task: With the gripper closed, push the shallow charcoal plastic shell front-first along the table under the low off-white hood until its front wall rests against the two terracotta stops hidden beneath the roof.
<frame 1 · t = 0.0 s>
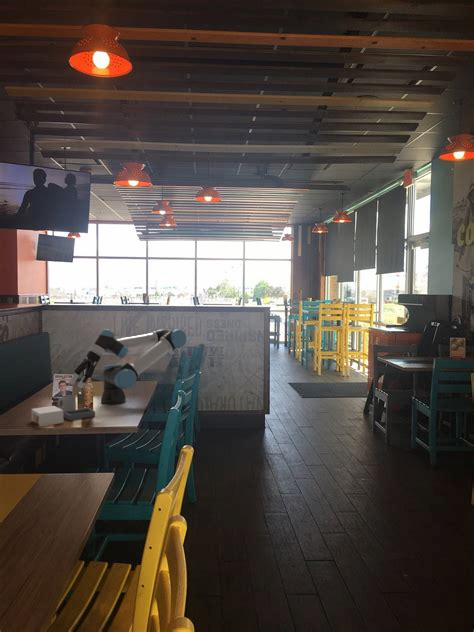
hand: (74, 385, 294), 15 cm above the table, tool tilted 35°, fingers open, 13 cm apart
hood: (47, 421, 274), on the table
cup: (66, 412, 297), on the table
shell: (79, 416, 284), on the table
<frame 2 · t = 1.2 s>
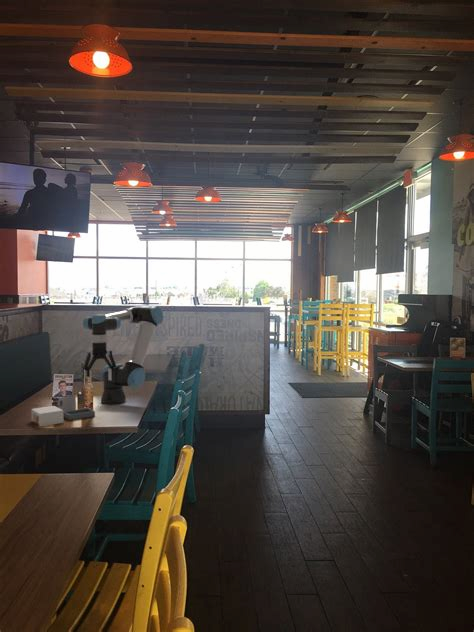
hand: (100, 381, 291), 18 cm above the table, tool pointing down, fingers open, 11 cm apart
nothing on the table moved.
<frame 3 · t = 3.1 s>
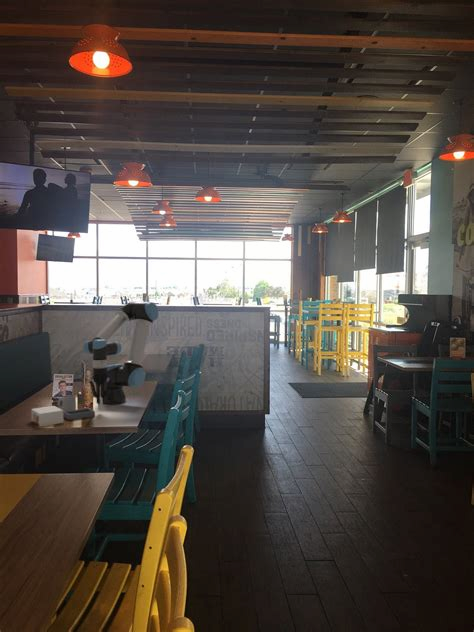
hand: (100, 409, 291), 2 cm above the table, tool pointing down, fingers closed
nothing on the table moved.
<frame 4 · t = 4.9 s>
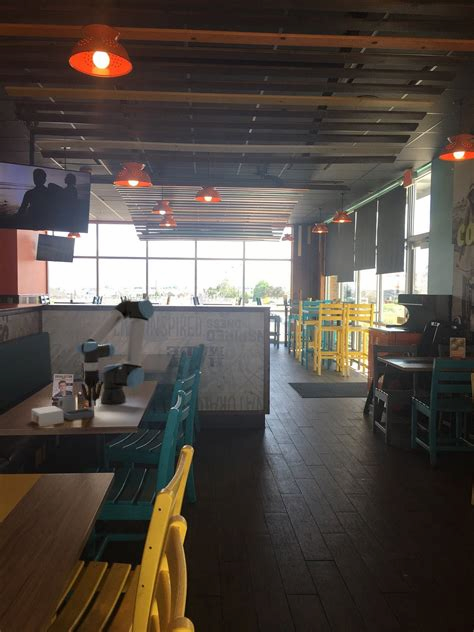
hand: (92, 412, 289), 2 cm above the table, tool pointing down, fingers closed
shell: (78, 417, 284), on the table, touching gripper
everything else where it was.
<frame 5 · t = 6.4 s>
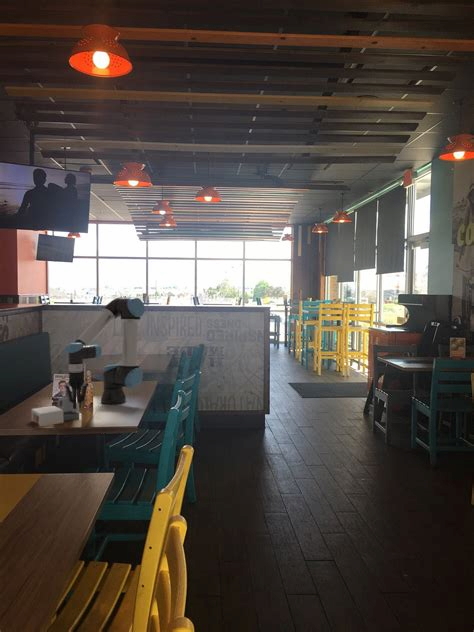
hand: (77, 414, 283), 2 cm above the table, tool pointing down, fingers closed
shell: (63, 419, 279), on the table, touching gripper
everything else where it was.
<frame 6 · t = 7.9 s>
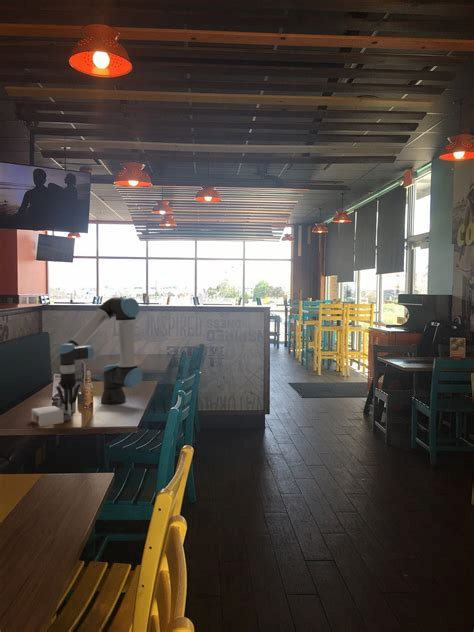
hand: (68, 415, 281), 1 cm above the table, tool pointing down, fingers closed
shell: (54, 420, 276), on the table, touching gripper
everything else where it was.
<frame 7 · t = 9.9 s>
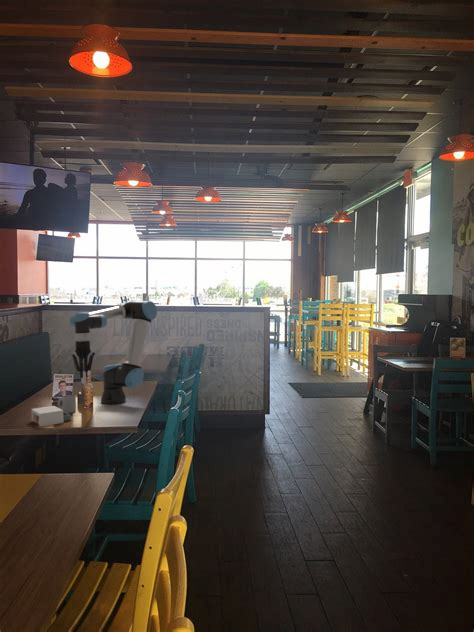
hand: (83, 383, 285), 18 cm above the table, tool pointing down, fingers closed
shell: (54, 420, 276), on the table
everything else where it was.
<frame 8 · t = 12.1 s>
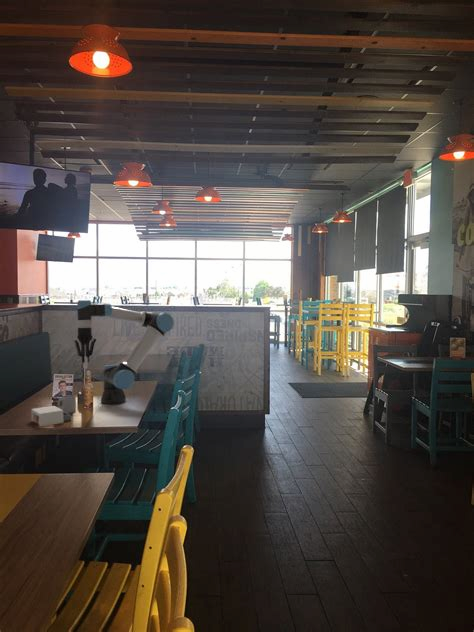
hand: (85, 368, 298), 24 cm above the table, tool pointing down, fingers closed
nothing on the table moved.
at the end: shell 0.4 cm from the target spot on the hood, point 0.0 cm above the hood's base; shell tilted 0° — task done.
